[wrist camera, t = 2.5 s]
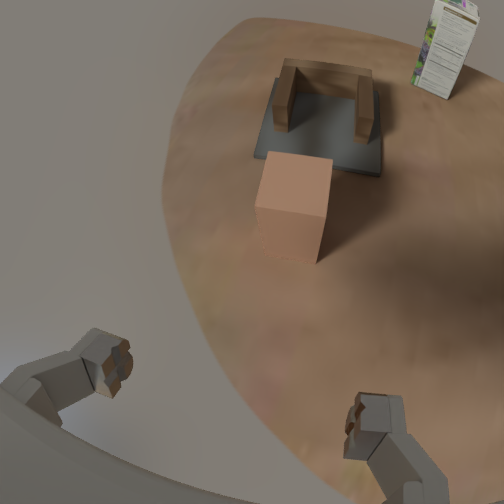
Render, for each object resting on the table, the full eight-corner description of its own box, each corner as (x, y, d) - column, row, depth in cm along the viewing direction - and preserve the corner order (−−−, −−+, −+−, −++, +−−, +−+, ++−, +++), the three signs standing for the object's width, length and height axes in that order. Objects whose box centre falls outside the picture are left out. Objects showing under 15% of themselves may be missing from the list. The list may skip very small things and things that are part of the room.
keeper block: (322, 218, 29) (333, 159, 21) (315, 264, 28) (326, 217, 19) (275, 210, 30) (268, 150, 22) (265, 255, 28) (254, 206, 20)
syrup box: (415, 65, 36) (435, -15, 23) (451, 81, 35) (479, 4, 21) (410, 84, 35) (433, -4, 21) (449, 102, 33) (482, 18, 20)
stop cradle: (377, 95, 34) (383, 67, 30) (379, 177, 30) (390, 149, 26) (275, 81, 36) (273, 53, 32) (254, 158, 32) (248, 128, 28)
